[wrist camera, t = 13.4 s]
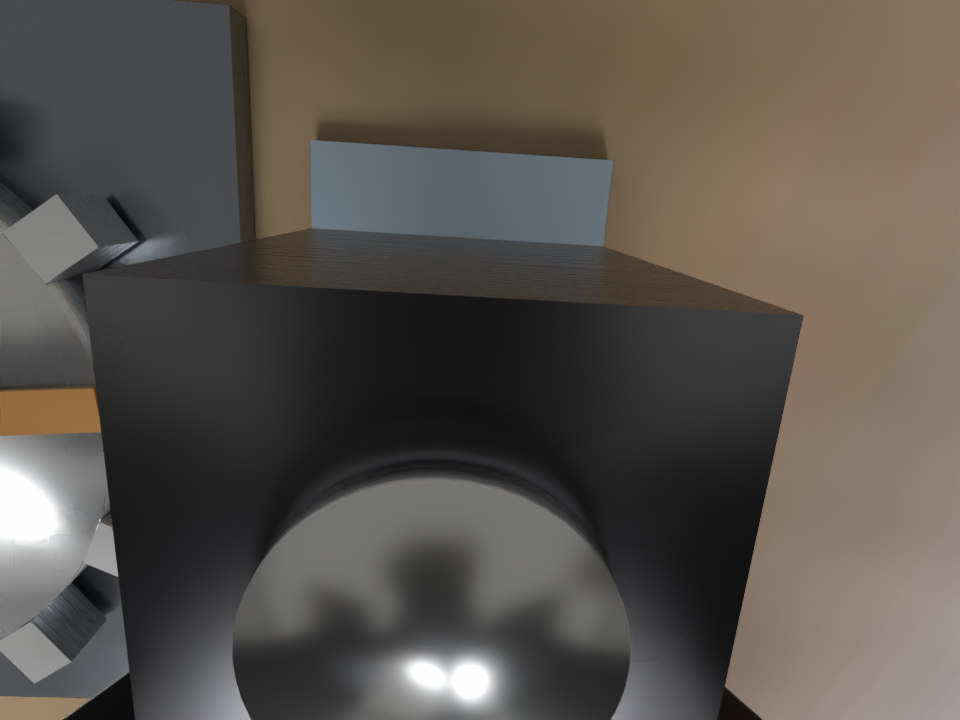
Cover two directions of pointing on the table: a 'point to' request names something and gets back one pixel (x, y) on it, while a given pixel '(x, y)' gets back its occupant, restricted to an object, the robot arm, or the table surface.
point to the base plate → (126, 173)
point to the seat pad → (459, 193)
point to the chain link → (431, 477)
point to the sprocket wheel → (51, 427)
